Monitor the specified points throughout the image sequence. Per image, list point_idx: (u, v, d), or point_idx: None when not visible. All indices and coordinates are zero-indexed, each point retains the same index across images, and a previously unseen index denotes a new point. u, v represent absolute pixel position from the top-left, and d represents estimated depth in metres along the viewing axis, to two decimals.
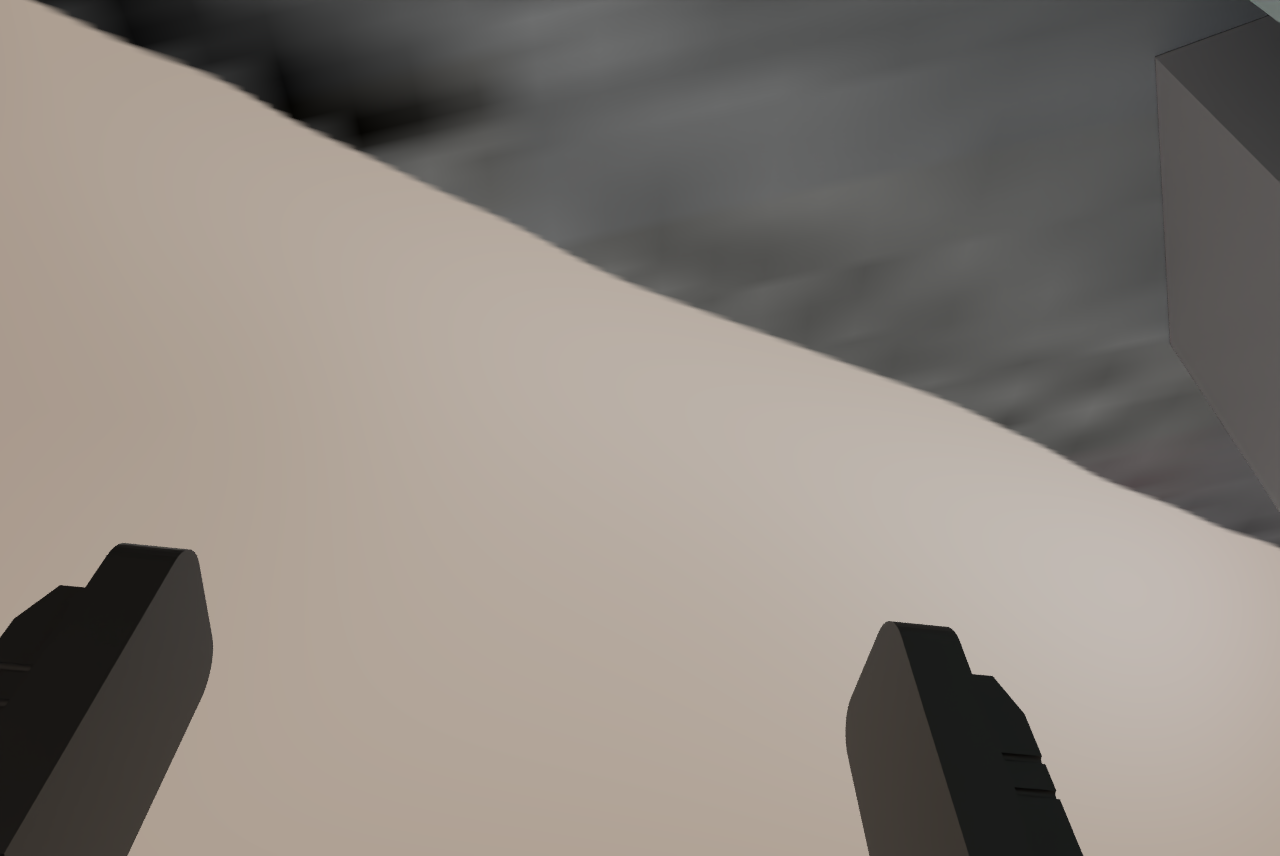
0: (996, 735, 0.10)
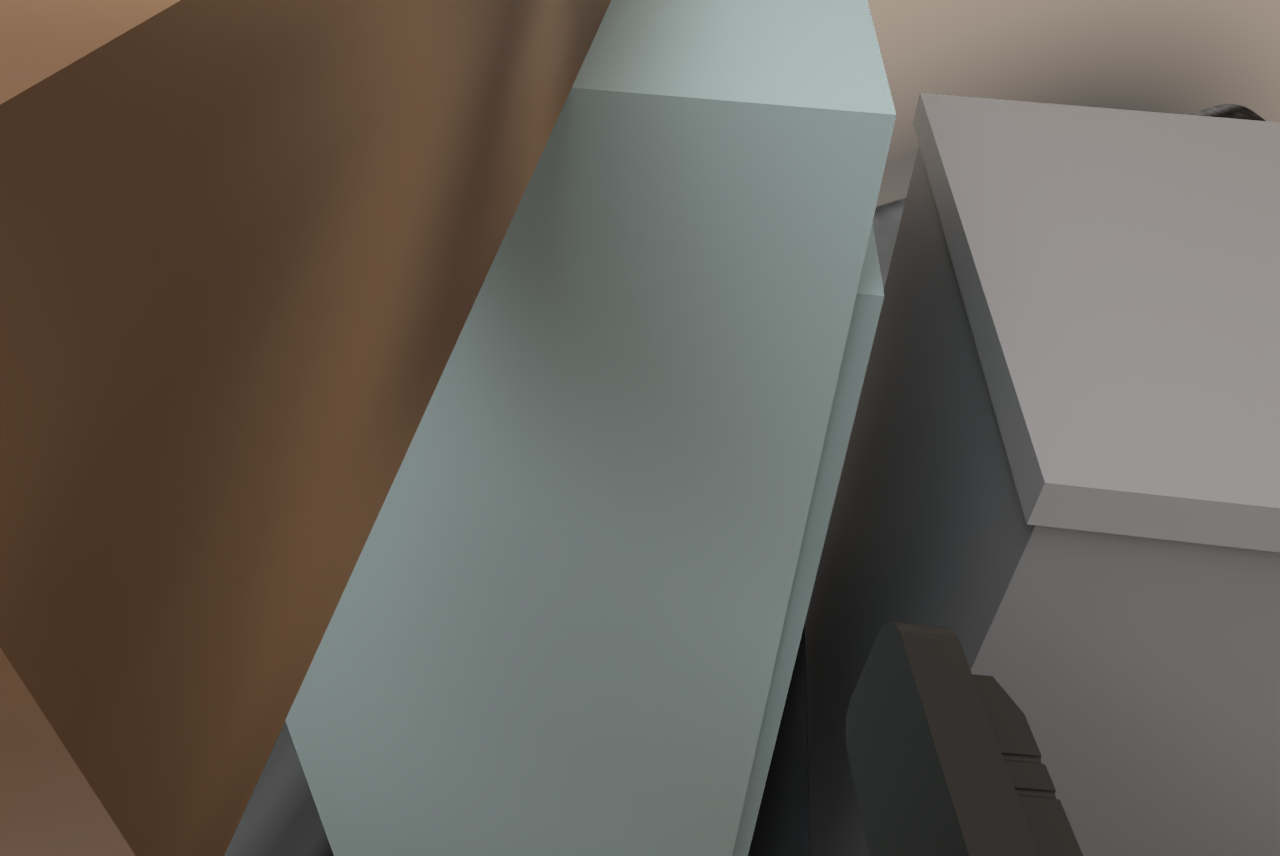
0: (996, 735, 0.10)
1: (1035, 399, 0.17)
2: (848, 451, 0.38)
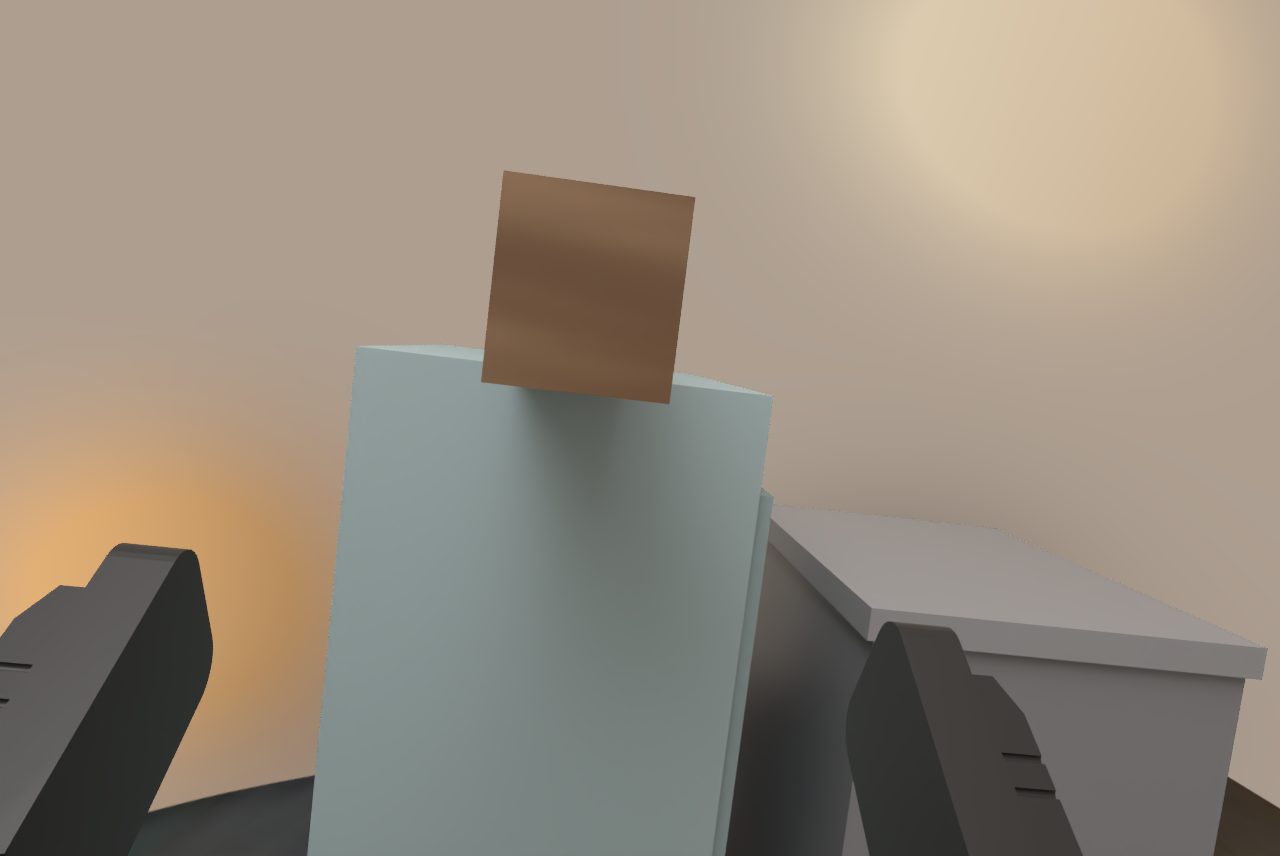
0: (996, 735, 0.10)
1: (858, 588, 0.30)
2: None
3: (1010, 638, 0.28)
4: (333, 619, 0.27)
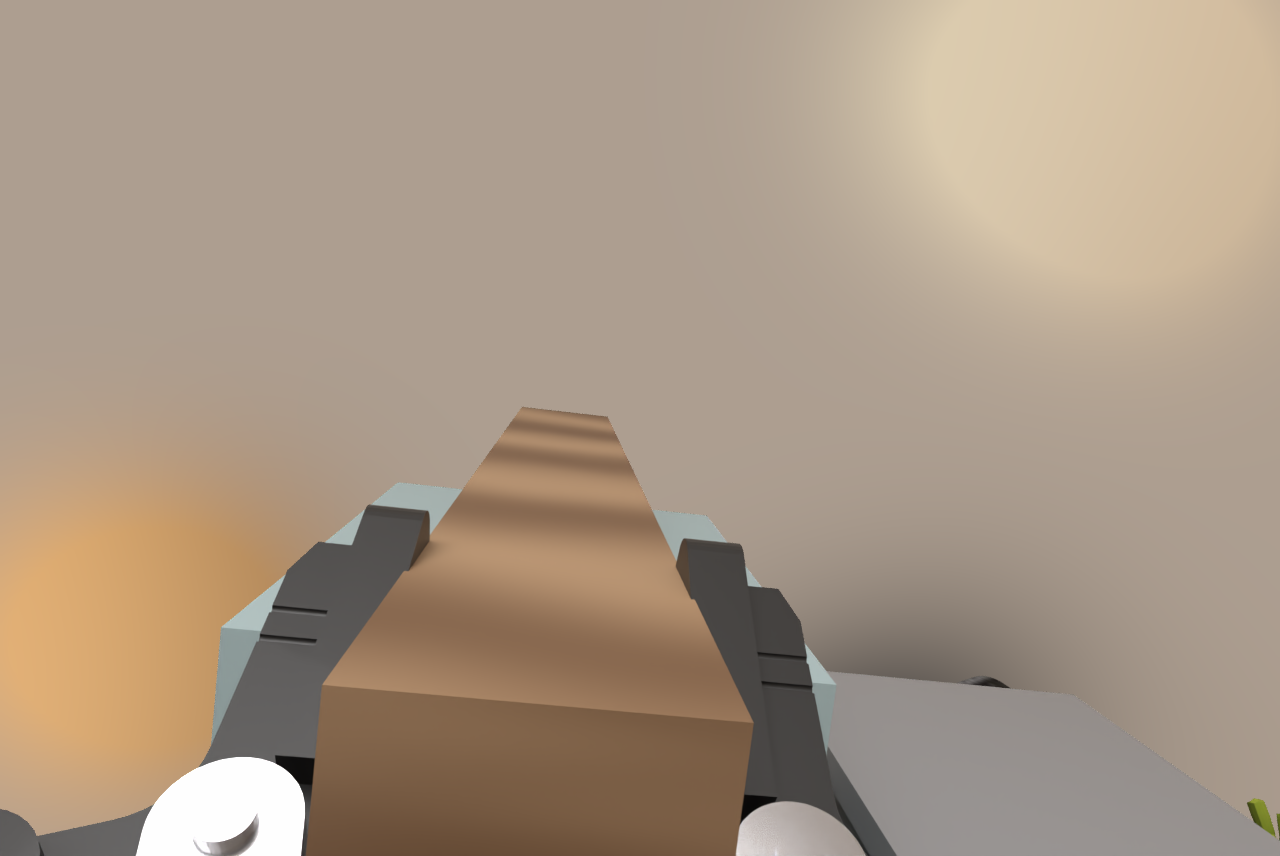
0: (768, 639, 0.11)
1: None
2: None
3: None
4: None
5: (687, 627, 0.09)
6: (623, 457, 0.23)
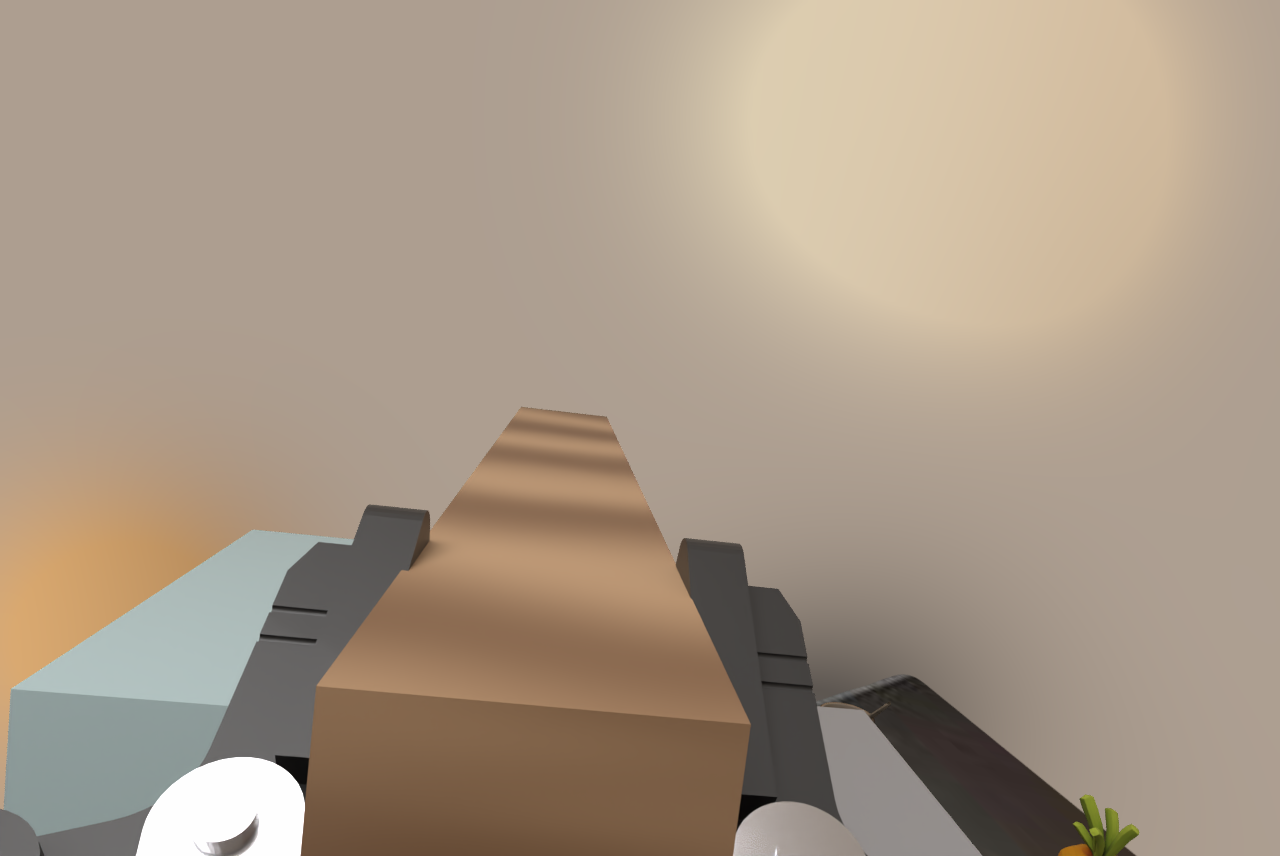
0: (768, 638, 0.11)
1: None
2: None
3: None
4: None
5: (683, 627, 0.09)
6: (622, 457, 0.23)
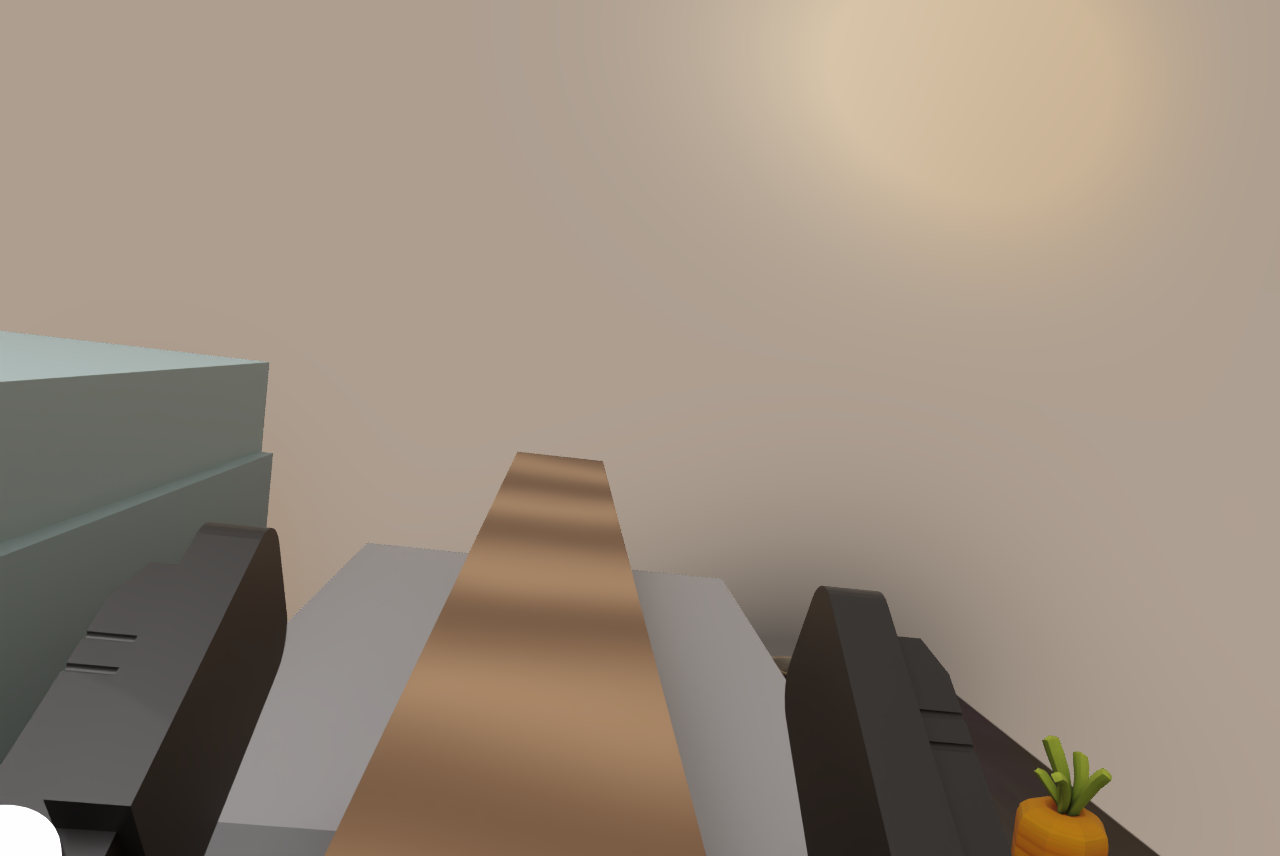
0: (919, 693, 0.10)
1: None
2: None
3: None
4: None
5: (667, 792, 0.09)
6: (616, 525, 0.23)
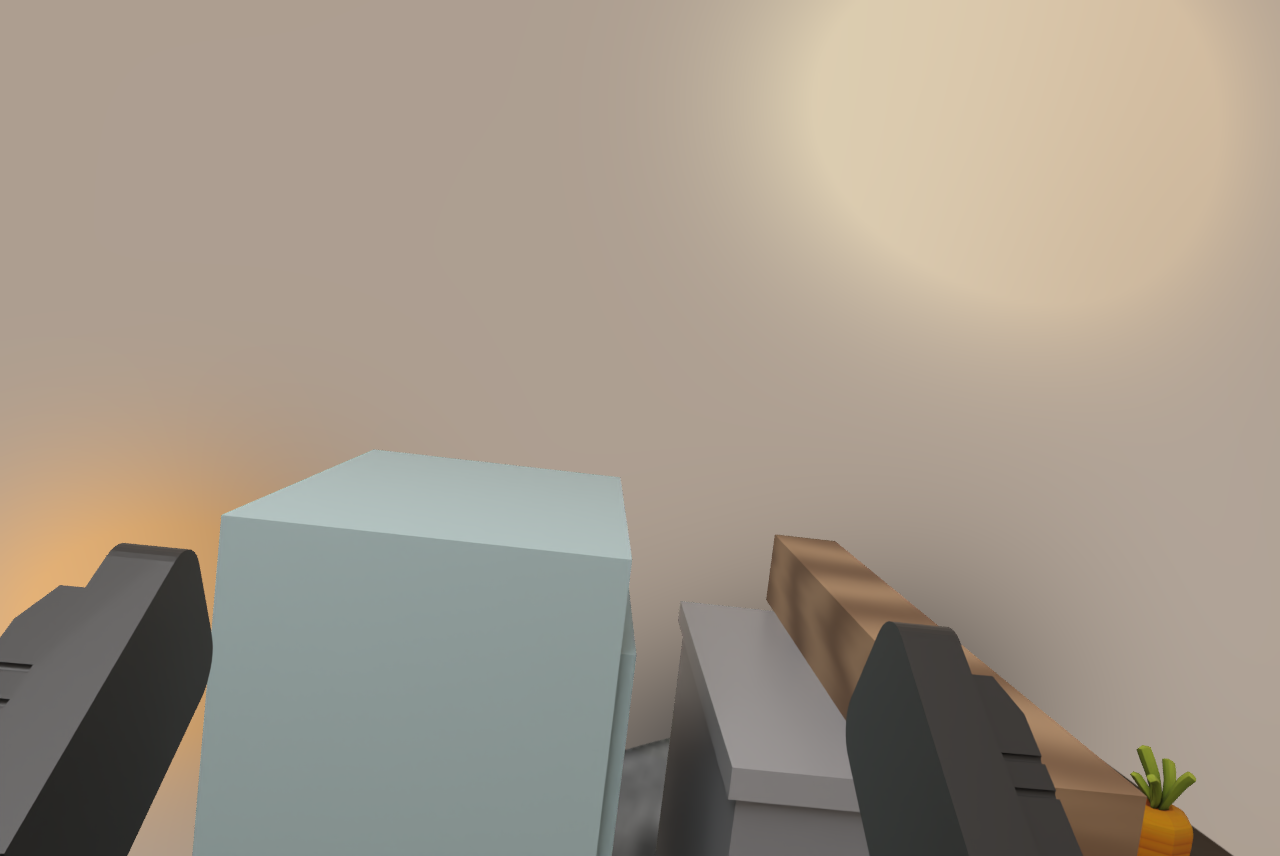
0: (996, 735, 0.10)
1: (732, 735, 0.30)
2: None
3: None
4: (202, 777, 0.28)
5: (1084, 751, 0.23)
6: (909, 604, 0.36)
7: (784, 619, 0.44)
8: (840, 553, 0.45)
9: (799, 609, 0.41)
